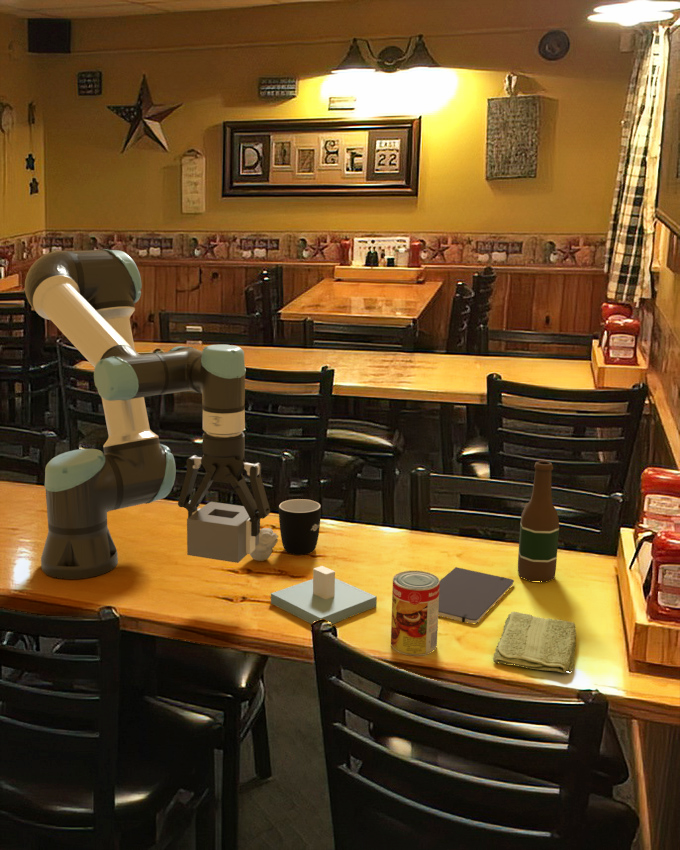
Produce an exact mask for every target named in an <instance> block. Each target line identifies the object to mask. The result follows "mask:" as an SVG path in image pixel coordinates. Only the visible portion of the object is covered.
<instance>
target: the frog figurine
mask: <svg viewBox="0 0 680 850" xmlns="http://www.w3.org/2000/svg"><path fill="white" fill-rule="evenodd" d="M278 538H279V535H278V534H277V533H276V532H274V530H273V529H272V528H270V527H268V528H266V527H264V528H260V533H259V544H258V545H257V546H256V547H255V550H254V551H253V552H252V553H251V554H249V556H250V557H251V558H252V559H253V560H255V561H259V562H262V561H263V562H264V561H266V560H267V559H269V558H270V557H271V556H272V553H273V549H274V547H275V546H276V545H277V544H278V541H279V539H278Z"/></svg>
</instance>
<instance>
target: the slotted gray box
mask: <svg viewBox="0 0 680 850" xmlns="http://www.w3.org/2000/svg"><path fill="white" fill-rule="evenodd" d="M249 518H250V517H249V515H248V513H247V511H246V509H245V508H244V506H243V505H238V504H230V503H222V502H216V501H209V502H208V503H207V504H205V505H204V506H203V507H200V510H198V511H197V512H196V513H194V514H193V515H192V516H190V517H189V518H188V517H187V518H186V542H187V543H186V547H187V548H186V549H187V551H186V553H187V556H189V557H190V556H192V557H196V558H197V557H198V558H203V559H211V560H217V561H223V562H228V563H229V562H230V563H235V564H239V563H240V562H241V561H242V560H243V559H244V558H246V556H247V555H248V554H246V520H247V519H249ZM258 544H259V534H258V535H257V536H256V537H255V547H256V546H257V545H258Z"/></svg>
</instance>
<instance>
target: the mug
mask: <svg viewBox="0 0 680 850" xmlns="http://www.w3.org/2000/svg"><path fill="white" fill-rule="evenodd" d="M321 506H322V505H321V504H320V503H319V502H317V501H316V500H315V501H314V500H311V499H307V498H306V499H303V498H302V499H301V498H300V499H299V498H297V499H288V500H285V501H282V502H281V503H280V504H279V505H278V522H279V532H280V538H281V539H280V540H281V543H282V547H283V549H284V551H285V552H286V553H287V554H289V555H293V556H306V555H311V554H312V553H313V552H314V551H315V550H316V548H317V544H318V542H319V541H318V540H319V536H320V535H319V533H320V529H321V527H320V526H321V525H320V524H321Z"/></svg>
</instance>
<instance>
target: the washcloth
mask: <svg viewBox="0 0 680 850" xmlns="http://www.w3.org/2000/svg"><path fill="white" fill-rule="evenodd" d="M505 619H506V620H505V622H504V625H503V630H502V633H501V637H500V638H499V641H498V643H497V645H496V647H495V651H494V653H493V657H492V659H493V663H498V662H499V663H506V664H513V665H514V664H515V665H519V666H518V667H521V666H524V667H523V668H526V667H527V669H528V668H530V669H531V668H532V670H537V671H552V672H559V673H562V674H565V673H564V672H566V671H569V672H571V671H573V669H574V666H575V664H574V663H575V652H576V650H575V649H576V635H577V630H576V628H577V627H576V624H575V622H572V621H568V620H562V619H556V618H555V619H553V618H545V617H544V618H543V617H539V616H533V615H532V614H530V613H529V614H528V613H523V612H518V611H511V612H510V613H509V614H508V616H507V617H506V618H505ZM573 662H574V663H573ZM571 673H572V672H571Z"/></svg>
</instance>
